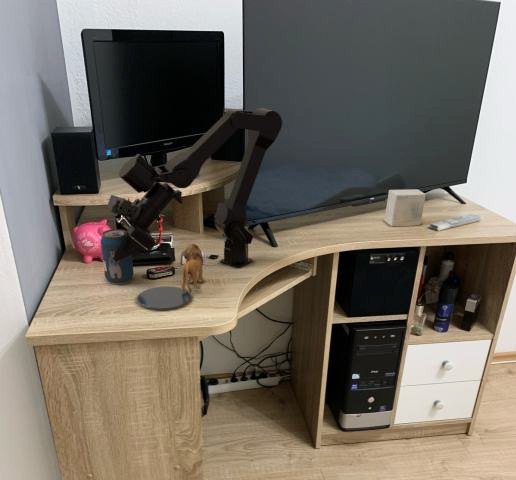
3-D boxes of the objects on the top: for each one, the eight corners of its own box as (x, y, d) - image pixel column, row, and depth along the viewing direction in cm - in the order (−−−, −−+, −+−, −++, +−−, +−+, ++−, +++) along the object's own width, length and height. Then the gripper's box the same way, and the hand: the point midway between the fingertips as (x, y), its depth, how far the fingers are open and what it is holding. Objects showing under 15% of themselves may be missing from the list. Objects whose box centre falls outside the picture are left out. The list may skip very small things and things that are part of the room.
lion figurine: (183, 277, 137) (181, 242, 134) (204, 276, 138) (203, 241, 134) (180, 295, 124) (178, 257, 120) (203, 295, 124) (202, 257, 121)
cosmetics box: (391, 226, 176) (396, 194, 171) (383, 221, 182) (388, 189, 177) (421, 225, 178) (426, 193, 173) (412, 219, 184) (417, 188, 179)
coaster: (164, 284, 132) (164, 282, 132) (201, 297, 126) (200, 295, 126) (126, 300, 124) (126, 298, 124) (163, 315, 118) (163, 313, 117)
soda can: (128, 272, 138) (123, 226, 132) (138, 282, 133) (133, 234, 127) (101, 277, 135) (95, 230, 129) (110, 287, 130) (104, 239, 124)
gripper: (116, 174, 131) (76, 223, 132) (136, 192, 117) (91, 248, 118) (151, 203, 138) (112, 250, 139) (173, 224, 124) (130, 276, 125)
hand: (111, 255), depth 130 cm, fingers closed on soda can, 7 cm apart
